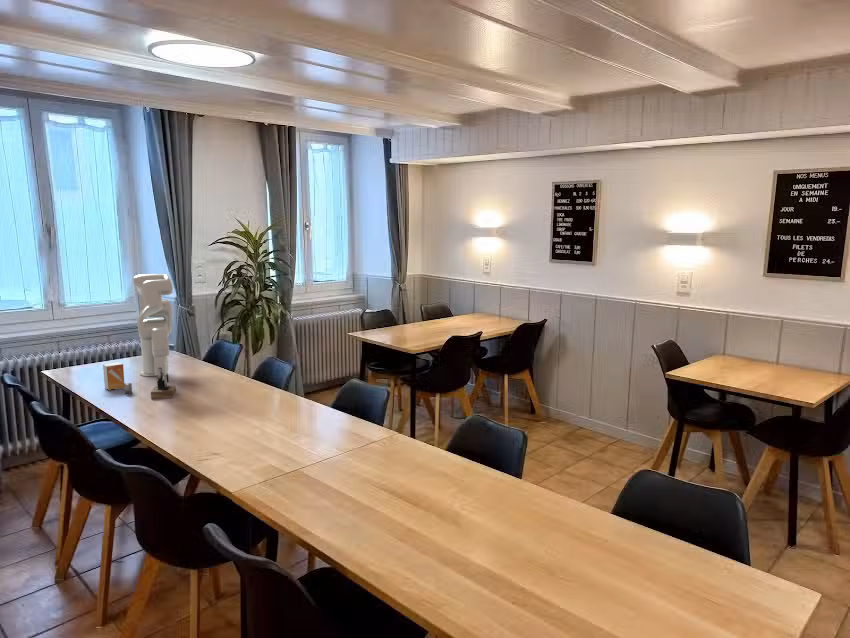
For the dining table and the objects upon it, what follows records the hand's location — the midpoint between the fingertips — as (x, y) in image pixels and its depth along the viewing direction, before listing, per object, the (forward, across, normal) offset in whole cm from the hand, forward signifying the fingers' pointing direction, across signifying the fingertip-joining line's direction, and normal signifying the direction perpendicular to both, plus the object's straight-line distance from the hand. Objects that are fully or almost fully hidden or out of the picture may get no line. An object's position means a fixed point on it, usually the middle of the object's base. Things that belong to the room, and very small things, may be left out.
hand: (163, 385), depth 290 cm
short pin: (+5, -7, -18) cm, 20 cm away
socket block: (+5, 0, 0) cm, 5 cm away
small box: (+5, -18, -27) cm, 33 cm away
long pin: (+5, 0, 0) cm, 5 cm away
